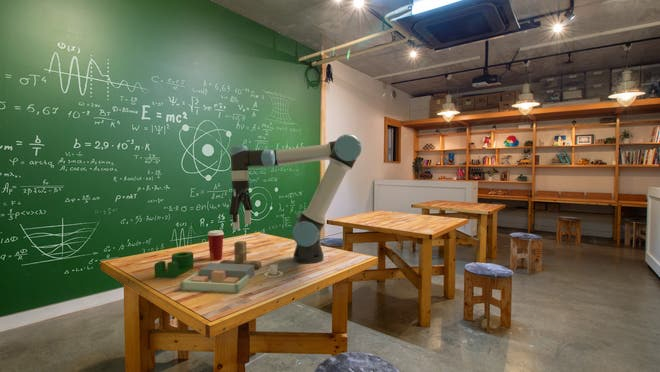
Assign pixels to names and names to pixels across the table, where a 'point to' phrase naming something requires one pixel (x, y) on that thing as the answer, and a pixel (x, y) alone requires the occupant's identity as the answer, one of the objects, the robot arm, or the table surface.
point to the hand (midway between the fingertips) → (242, 226)
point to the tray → (213, 285)
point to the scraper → (242, 256)
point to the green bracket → (175, 265)
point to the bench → (228, 270)
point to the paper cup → (215, 244)
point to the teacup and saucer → (273, 271)
